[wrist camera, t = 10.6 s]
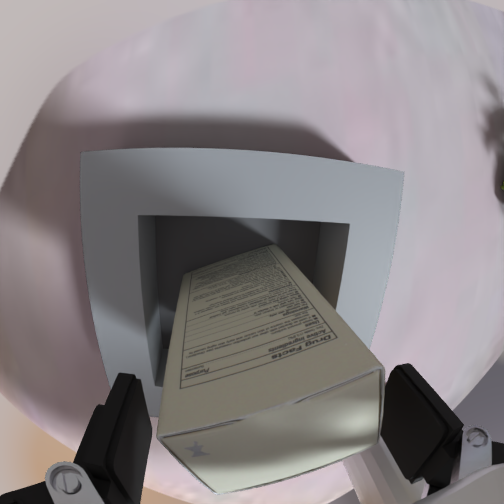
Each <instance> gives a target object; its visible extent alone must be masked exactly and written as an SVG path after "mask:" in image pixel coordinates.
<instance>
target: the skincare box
mask: <svg viewBox="0 0 504 504" xmlns="http://www.w3.org/2000/svg"><path fill="white" fill-rule="evenodd" d="M384 395H385V368H384V366H383V365H382V364H381V363H380V362H379V361H378V359H377V358H376V357H375V356H374V355H373V353H372V352H371V351H370V350H369V349H368V348H367V346H366V345H365V344H364V343H363V342H362V340H361V339H360V338H359V337H358V336H357V335H356V334H355V332H354V331H353V330H352V329H351V328H350V327H349V325H348V324H347V323H346V322H345V321H344V320H343V319H342V317H341V316H340V315H339V314H338V313H337V312H336V311H335V309H334V308H333V307H332V306H331V305H330V304H329V303H328V301H327V300H326V299H325V298H324V297H323V296H322V295H321V294H320V292H319V291H318V290H317V289H316V288H315V287H314V285H313V284H312V283H311V282H310V281H309V280H308V279H307V278H306V277H305V275H304V274H303V273H302V272H301V271H300V270H299V269H298V268H297V267H296V265H295V264H294V263H293V262H292V261H291V260H290V259H289V258H288V256H287V255H286V254H285V253H284V252H283V251H282V250H281V249H280V248H279V247H278V245H276V244H272V245H269V246H265V247H262V248H258V249H255V250H252V251H249V252H246V253H243V254H240V255H236V256H233V257H231V258H228V259H225V260H222V261H219V262H216V263H213V264H210V265H207V266H205V267H202V268H199V269H197V270H194V271H191V272H189V273H186V274H184V275H183V278H182V283H181V287H180V293H179V298H178V303H177V308H176V313H175V318H174V324H173V329H172V335H171V340H170V345H169V352H168V358H167V364H166V370H165V377H164V383H163V390H162V397H161V404H160V412H159V420H158V427H157V439H158V440H159V441H160V443H161V444H162V445H163V446H164V447H165V448H166V449H167V450H168V451H169V452H170V454H171V455H172V456H173V457H174V458H175V459H176V460H177V461H178V462H179V463H180V464H181V465H182V466H183V467H184V468H185V469H186V470H187V471H188V472H189V473H190V474H191V475H192V476H193V477H194V478H196V479H197V480H198V481H199V482H200V483H201V484H202V485H204V486H205V487H206V488H208V489H209V490H210V491H211V492H213V493H214V494H217V495H219V494H226V493H231V492H237V491H243V490H248V489H252V488H258V487H262V486H266V485H270V484H274V483H278V482H281V481H284V480H288V479H292V478H295V477H298V476H301V475H304V474H307V473H310V472H313V471H316V470H318V469H321V468H324V467H327V466H329V465H332V464H334V463H337V462H339V461H342V460H344V459H346V458H348V457H351V456H353V455H355V454H357V453H360V452H362V451H364V450H366V449H368V448H370V447H373V446H375V445H377V444H378V443H379V441H380V433H381V427H382V418H383V406H384Z"/></svg>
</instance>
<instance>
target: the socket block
mask: <svg viewBox="0 0 504 504" xmlns="http://www.w3.org/2000/svg"><path fill="white" fill-rule="evenodd" d="M403 183H404V172H403V171H398V170H393V169H388V168H383V167H378V166H372V165H367V164H361V163H355V162H349V161H342V160H335V159H328V158H321V157H313V156H305V155H296V154H287V153H276V152H265V151H252V150H236V149H214V148H134V149H113V150H98V151H86V152H81V155H80V212H81V231H82V244H83V254H84V264H85V272H86V279H87V286H88V293H89V299H90V305H91V311H92V316H93V321H94V326H95V331H96V335H97V340H98V344H99V348H100V353H101V356H102V360H103V364H104V368H105V372H106V375H107V379H108V382H109V385H110V389H112V386H113V384H114V382H115V379H116V377H117V375H118V373H120V372H121V373H128V374H135V376H136V378H137V379H141V382H142V387H143V392H144V396H145V401H146V405H147V409H148V413H149V416H150V417H159V412H160V404H161V397H162V390H163V383H164V377H165V370H166V364H167V358H168V352H169V345H170V340H171V335H172V329H173V324H174V318H175V313H176V308H177V303H178V298H179V293H180V287H181V283H182V278H183V275H184V274H186V273H189V272H191V271H194V270H197V269H199V268H202V267H205V266H207V265H210V264H213V263H216V262H219V261H222V260H225V259H228V258H231V257H233V256H236V255H240V254H243V253H246V252H249V251H252V250H255V249H258V248H262V247H265V246H269V245H272V244H276V245H278V247H279V248H280V249H281V250H282V251H283V252H284V253H285V254H286V255H287V256H288V258H289V259H290V260H291V261H292V262H293V263H294V264H295V265H296V267H297V268H298V269H299V270H300V271H301V272H302V273H303V274H304V275H305V277H306V278H307V279H308V280H309V281H310V282H311V283H312V284H313V285H314V287H315V288H316V289H317V290H318V291H319V292H320V294H321V295H322V296H323V297H324V298H325V299H326V300H327V301H328V303H329V304H330V305H331V306H332V307H333V308H334V309H335V311H336V312H337V313H338V314H339V315H340V316H341V317H342V319H343V320H344V321H345V322H346V323H347V324H348V325H349V327H350V328H351V329H352V330H353V331H354V332H355V334H356V335H357V336H358V337H359V338H360V339H361V340H362V342H363V343H364V344H365V345H366V346H367V348H368V349H370V346H371V343H372V339H373V336H374V332H375V329H376V325H377V322H378V318H379V314H380V311H381V307H382V303H383V299H384V295H385V290H386V286H387V282H388V277H389V273H390V268H391V263H392V258H393V252H394V247H395V241H396V235H397V229H398V223H399V216H400V209H401V201H402V192H403Z"/></svg>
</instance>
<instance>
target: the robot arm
mask: <svg viewBox="0 0 504 504" xmlns="http://www.w3.org/2000/svg"><path fill="white" fill-rule="evenodd" d="M463 426H464V424H463V423H462V422H461V421H460V420H459V418H458V417H457V416H456V415H455V414H454V412H453V411H452V410H451V409H450V408H449V407H448V405H447V404H446V403H445V402H444V401H443V400H442V399H441V397H440V396H439V395H438V394H437V393H436V392H435V391H434V389H433V388H432V387H431V386H430V385H429V384H428V383H427V382H426V380H425V379H424V378H423V377H422V376H421V375H420V374H419V373H418V372H417V370H416V369H415V368H414V367H413V366H412V365H411V364H409V363H407V364H402V365H397V366H396V367H395V368H394V370H392V371H391V373H390V376H389V378H388V381H387V384H386V386H385V395H384V406H383V418H382V427H381V433H380V441H379V443H378V444H377V445H375V446H373V447H370V448H368V449H366V450H364V451H362V452H360V453H357V454H355V455H353V456H351V457H348V458H346V459H344V460H342V462H343V464H344V466H345V469H346V471H347V473H348V476H349V478H350V480H351V482H352V485H353V487H354V489H355V492H356V494H357V496H358V499H359V501H360V503H361V504H504V444H503V443H498V442H493V441H491V436H490V434H489V432H488V431H487V430H486V429H485V428H483V427H481V426H478V425H471V426H468V427H467V428H466V429H465V430H464V431H463V430H462V427H463ZM151 438H152V425H151V422H150V418H149V413H148V409H147V405H146V401H145V396H144V392H143V387H142V382H141V379H137V378H136V376H135V374H128V373H121V372H120V373H118V375H117V377H116V379H115V382H114V384H113V386H112V389H111V391H110V393H109V396H108V398H107V400H106V403H105V405H100V404H99V405H97V406H96V408H95V410H94V412H93V415H92V417H91V419H90V422H89V424H88V426H87V429H86V431H85V434H84V436H83V439H82V441H81V444H80V446H79V449H78V451H77V454H76V456H75V459H74V462H73V463H71V462H65V461H64V462H58V463H56V464H54V465H52V466H51V467H50V468H49V469H48V470H47V473H46V476H45V481H43V482H41V483H38V484H35V485H32V486H29V487H25V488H22V489H19V490H15V491H12V492H8V493H5V494H3V495H1V496H0V504H140V501H141V495H142V488H143V482H144V476H145V470H146V465H147V459H148V454H149V448H150V443H151Z"/></svg>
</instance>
